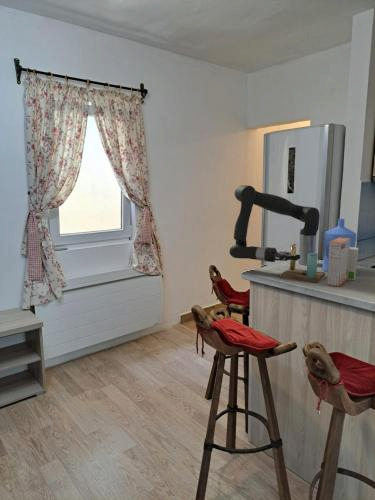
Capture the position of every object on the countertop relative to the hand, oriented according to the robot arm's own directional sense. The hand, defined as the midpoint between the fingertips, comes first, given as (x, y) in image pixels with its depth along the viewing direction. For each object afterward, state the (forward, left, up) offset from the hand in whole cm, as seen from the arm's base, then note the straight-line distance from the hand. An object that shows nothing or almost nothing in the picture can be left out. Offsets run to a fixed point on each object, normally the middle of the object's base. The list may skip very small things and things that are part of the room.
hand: (298, 257), depth 181 cm
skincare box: (-11, +21, -10) cm, 26 cm away
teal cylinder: (+4, +8, -8) cm, 12 cm away
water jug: (-25, +14, -10) cm, 30 cm away
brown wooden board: (-1, +2, -10) cm, 10 cm away
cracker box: (0, +19, -10) cm, 22 cm away
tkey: (0, +1, -7) cm, 8 cm away
